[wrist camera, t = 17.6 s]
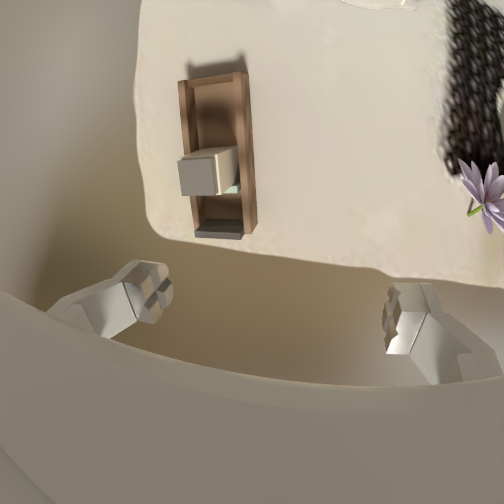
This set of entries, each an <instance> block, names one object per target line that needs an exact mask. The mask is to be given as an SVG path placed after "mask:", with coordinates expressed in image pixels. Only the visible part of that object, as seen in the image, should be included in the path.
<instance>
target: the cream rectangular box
mask: <svg viewBox="0 0 504 504" xmlns="http://www.w3.org/2000/svg"><path fill="white" fill-rule="evenodd" d="M177 163H178V170H179V178H180V185H181V192H182V196H204V195H222V194H223V193H224V192H225V191H226V190H228V189H229V188H230V187H231V186H232V185H234V184H235V183H236V182H237V181H239V180H240V169H239V155H238V146H225V147H210V148H204V149H201V150H198V151H195V152H192V153H190V154H187V155H184V156H181V157H180V160H179V161H177Z"/></svg>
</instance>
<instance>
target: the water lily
mask: <svg viewBox="0 0 504 504" xmlns="http://www.w3.org/2000/svg"><path fill="white" fill-rule="evenodd" d="M458 161H459V164H460V167H461V169H462V172H463V174H464V176H465V178H466V179H462V182H463V184H464V186H465V188H466V189H467V191H468V192H469V194H470V195H471V196H472V197H473V198H474V199H475V200H476V201H477V202H479V203H481V204H482V205H480V206H479V207H477V208H476V209H474V210H472V211H471V212H469V213H467V215H468V216H469V217H470V216H472V215H473V214H475V213H477V212H478V211H480V210H481V209H482V219H483V222H484V225H485V228H486V230H487V232H488V233H489V234H491V233H492V231H493V224H492V222H491V219H490V217H491V218H492V219H493V221H494V222H495V223H496V224H497V226H498V227H499V228H500V229H501V230H502V231H503V232H504V199H500V197H501V195H502V194H503V190H504V175H501V176H499V171H498V165H497V163H496V162H494V163H493V164H492V165H489V167H488V170H487V173H486V177H485V181H484V188H483V183H482V178H481V174H480V172H479V169H478V168H477V166H476V164H475V163H474V162H473V161H471V166H472V171H471V169H470V168H469V167H468V165H467V164H466V163H465V162H464V161H462V160H460V159H459V158H458ZM498 176H499V177H498Z"/></svg>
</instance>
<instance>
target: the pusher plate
mask: <svg viewBox="0 0 504 504" xmlns="http://www.w3.org/2000/svg"><path fill="white" fill-rule="evenodd" d="M240 190H241V182H240V180H239V181H237V182H236V183H235V184H234V185H232V186H231V187H230V188H229V189H228V190H226V191H225V192H224V193H238V192H239V191H240Z"/></svg>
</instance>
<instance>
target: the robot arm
mask: <svg viewBox="0 0 504 504" xmlns="http://www.w3.org/2000/svg"><path fill="white" fill-rule="evenodd" d="M341 1H343V2H346V3H348V4H351V5H354V6H358V7H362V8H368V9H386V8H394V7H398V8H402V9H406V10H412V11H414V10H417V8H418V7H419V4H420V1H421V0H341ZM168 275H169V271H168V268H167V266H166V265H165V264H164V263H156V262H149V261H141V260H132V261H130V262H129V263H128V264H127V265H126V266H125V267H124V268H122V269H121V270H120V271H119V272H118V273H117V274H116V275H115V276H114V277H113V278H111V279H110V280H108V279H107V280H105V281H102V282H100V283H97V284H95V285H92V286H90V287H87V288H85V289H82V290H80V291H77V292H75V293H72V294H70V295H68V296H66V297H63V298H61V299H60V300H59V301H58V302H57V303H56V304H54V305H53V306H52V307H51V308H50V309H49V310H48V311H47V312H46V313H44V312H42V311H40V310H38V309H36V308H34V307H32V306H30V305H28V304H26V303H24V302H22V301H20V300H18V299H16V298H14V297H13V296H11V295H9V294H7V293H5V292H0V504H504V375H503V372H502V369H501V367H500V364H499V361H498V359H497V356H496V354H495V351H494V350H493V349H492V348H491V347H490V346H489V345H487V344H486V343H485V342H484V341H483V340H482V339H480V338H479V337H478V336H477V335H476V334H474V333H473V332H472V331H471V330H469V329H468V328H467V327H466V326H464V325H463V324H462V323H461V322H459V321H458V320H457V319H455V318H454V317H453V316H451V314H449V313H445V312H444V310H443V307H442V305H441V303H440V300H439V298H438V296H437V294H436V292H435V290H434V287H433V285H432V284H430V283H391V284H390V286H389V290H388V296H389V300H388V301H387V302H386V303H385V304H384V308H383V314H382V327H383V330H384V331H385V332H386V335H385V338H384V341H385V348H386V353H387V354H409V356H410V358H411V359H412V360H413V362H414V363H415V364H416V365H417V367H418V368H419V369H420V371H421V372H422V373H423V374H424V376H425V377H426V378H427V380H428V381H429V383H430V384H431V385H422V386H421V385H420V386H397V387H396V386H392V387H372V386H371V387H370V386H366V387H365V386H342V385H341V386H340V385H327V384H315V383H304V382H295V381H286V380H279V379H271V378H265V377H258V376H252V375H245V374H240V373H235V372H229V371H224V370H219V369H215V368H210V367H205V366H200V365H196V364H192V363H188V362H184V361H180V360H176V359H172V358H168V357H165V356H161V355H158V354H154V353H151V352H147V351H144V350H141V349H137V348H134V347H131V346H128V345H125V344H122V343H119V342H116V341H113V340H111V339H109V338H111V337H112V336H114V335H116V334H117V333H119V332H120V331H122V330H124V329H125V328H127V327H128V326H130V325H132V324H133V323H135V322H136V321H137V320H138V321H142V322H147V323H152V324H155V322H156V321H157V320H158V318H159V317H160V316H161V314H162V308H164V307H166V306H168V305H169V303H170V302H171V299H172V296H173V286H172V283H171V282H170V281H169V280H168V278H167V277H168Z"/></svg>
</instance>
